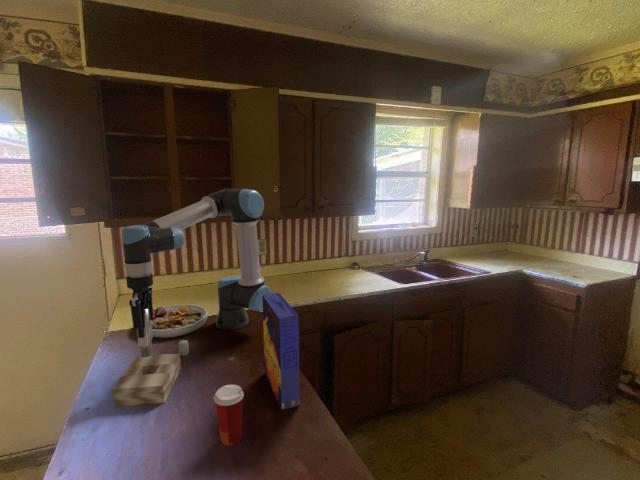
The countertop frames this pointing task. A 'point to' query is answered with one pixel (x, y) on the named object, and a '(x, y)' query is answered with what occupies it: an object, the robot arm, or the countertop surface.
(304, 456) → the countertop surface
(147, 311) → the long steel pin
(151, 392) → the hole block
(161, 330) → the bowl
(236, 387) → the paper cup
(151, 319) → the robot arm
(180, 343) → the grey-green rounded piece
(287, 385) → the cereal box
